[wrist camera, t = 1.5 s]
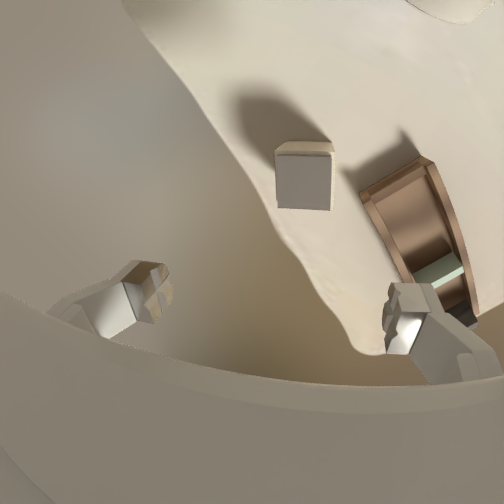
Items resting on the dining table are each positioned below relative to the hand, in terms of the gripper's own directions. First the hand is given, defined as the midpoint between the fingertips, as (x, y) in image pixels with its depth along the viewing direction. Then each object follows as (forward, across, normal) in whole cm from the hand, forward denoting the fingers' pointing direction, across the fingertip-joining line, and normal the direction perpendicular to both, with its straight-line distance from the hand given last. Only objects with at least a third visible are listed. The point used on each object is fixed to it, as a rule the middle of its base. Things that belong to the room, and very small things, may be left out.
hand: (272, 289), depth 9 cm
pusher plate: (+22, -17, +11) cm, 30 cm away
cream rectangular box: (+23, 0, 0) cm, 23 cm away
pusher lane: (+23, -16, +10) cm, 30 cm away
